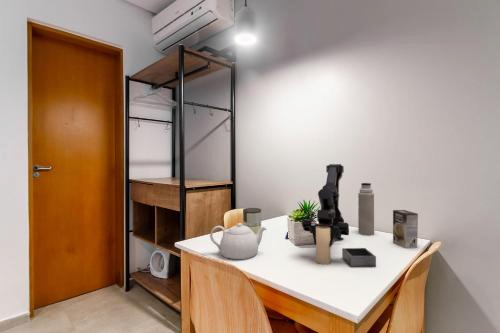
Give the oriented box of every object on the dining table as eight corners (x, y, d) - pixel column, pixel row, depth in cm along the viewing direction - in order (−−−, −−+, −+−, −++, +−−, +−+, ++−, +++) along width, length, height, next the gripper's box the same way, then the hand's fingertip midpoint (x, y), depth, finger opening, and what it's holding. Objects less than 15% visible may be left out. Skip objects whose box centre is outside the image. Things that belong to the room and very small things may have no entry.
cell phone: (285, 240, 138) (285, 238, 138) (287, 232, 151) (287, 231, 151) (299, 240, 136) (299, 239, 136) (300, 233, 150) (300, 231, 150)
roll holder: (342, 257, 111) (342, 248, 111) (365, 257, 111) (365, 248, 111) (350, 267, 101) (350, 256, 101) (375, 266, 101) (375, 256, 101)
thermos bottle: (358, 231, 151) (357, 182, 151) (373, 232, 149) (373, 182, 148) (358, 234, 144) (358, 183, 143) (375, 236, 141) (374, 183, 140)
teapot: (240, 244, 131) (239, 217, 131) (267, 253, 118) (267, 222, 118) (209, 254, 118) (208, 223, 118) (236, 265, 105) (236, 231, 105)
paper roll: (313, 260, 109) (313, 226, 108) (325, 258, 111) (325, 224, 110) (321, 265, 103) (320, 229, 103) (333, 263, 105) (333, 228, 105)
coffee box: (392, 242, 130) (392, 209, 130) (404, 241, 131) (404, 209, 131) (405, 248, 121) (405, 213, 121) (418, 247, 122) (418, 213, 122)
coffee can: (239, 235, 146) (239, 210, 146) (250, 231, 154) (250, 207, 154) (254, 238, 140) (254, 212, 140) (265, 233, 148) (264, 208, 148)
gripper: (302, 200, 114) (295, 232, 104) (348, 203, 106) (345, 237, 96) (306, 215, 121) (301, 246, 112) (350, 218, 113) (347, 252, 104)
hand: (322, 245), depth 106 cm, fingers closed on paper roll, 6 cm apart
